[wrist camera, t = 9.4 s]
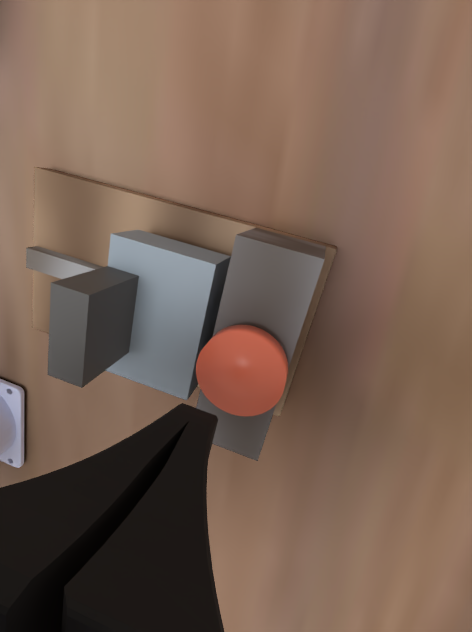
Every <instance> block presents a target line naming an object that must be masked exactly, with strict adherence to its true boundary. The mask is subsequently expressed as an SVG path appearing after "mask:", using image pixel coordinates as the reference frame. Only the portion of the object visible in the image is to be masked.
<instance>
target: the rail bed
mask: <svg viewBox="0 0 472 632" xmlns="http://www.w3.org/2000/svg"><path fill="white" fill-rule="evenodd" d="M132 230H142V231H145V232H149V233H152V234H156V235H159V236H162V237H166V238H169V239H173V240H176V241H180V242H183V243H187V244H190V245H193V246H197V247H200V248H204V249H207V250H211V251H214V252H218V253H221V254H225V255H228V256H231V259H230V263H229V267H228V272H227V276H226V281H225V285H224V289H223V294H222V298H221V302H220V307H219V311H218V315H217V320H216V324H215V328H214V333H213V336H214V335H215V334H216V333H217V332H218V331H220V330H222V329H224V328H226V327H229V326H232V325H251V326H254V327H257V328H260V329H262V330H264V331H266V332H267V333H269V334H270V335H272V336H273V337H274V338H275V339H276V340H277V341H278V342H279V344H280V345H281V347H282V348H283V350H284V352H285V354H286V357H287V361H288V375H287V379H286V384H285V388H284V392H283V394H282V396H281V398H280V400H279V401H278V402H277V404H276V405H275V406H274V407H272V408H271V409H270V410H268V411H267V412H264V413H262V414H259V415H255V416H237V415H233V414H230V413H227V412H225V411H223V410H221V409H219V408H218V407H216V406H215V405H214V404H213V403H211V402H210V401H209V400H208V399H207V397H206V396H205V395H204V393H203V392H202V390H201V389H200V394H199V398H198V403H197V407H196V408H197V409H200V410H202V411H205V412H208V413H211V414H213V415H216V416H217V418H218V423H217V427H216V430H215V434H214V438H213V442H212V444H214V445H217V446H220V447H222V448H225V449H227V450H230V451H233V452H235V453H238V454H240V455H243V456H246V457H248V458H251V459H254V460H256V461H258V458H259V455H260V452H261V449H262V446H263V443H264V440H265V437H266V434H267V431H268V428H269V425H270V422H271V419H272V416H273V415H276V416H279V417H280V414H281V411H282V408H283V406H284V403H285V400H286V397H287V394H288V391H289V388H290V385H291V382H292V379H293V376H294V373H295V371H296V368H297V365H298V362H299V359H300V356H301V353H302V350H303V347H304V344H305V341H306V338H307V336H308V333H309V330H310V327H311V324H312V321H313V318H314V315H315V312H316V309H317V306H318V303H319V301H320V298H321V295H322V292H323V289H324V286H325V283H326V280H327V277H328V274H329V271H330V269H331V266H332V263H333V260H334V257H335V254H336V251H337V246H333V245H329V244H326V243H322V242H318V241H314V240H311V239H307V238H303V237H300V236H296V235H292V234H289V233H285V232H281V231H278V230H274V229H270V228H267V227H263V226H259V225H255V224H252V223H248V222H244V221H241V220H237V219H233V218H230V217H226V216H222V215H219V214H215V213H211V212H208V211H204V210H200V209H196V208H193V207H189V206H185V205H182V204H178V203H174V202H171V201H167V200H163V199H160V198H156V197H152V196H149V195H145V194H141V193H137V192H134V191H130V190H126V189H123V188H119V187H115V186H112V185H108V184H104V183H101V182H97V181H93V180H90V179H86V178H82V177H78V176H75V175H71V174H67V173H64V172H60V171H56V170H53V169H47V168H39V167H34V214H33V247H28V248H27V255H26V268H29V269H32V270H33V294H32V328H34V329H37V330H40V331H42V332H45V333H48V334H49V321H50V291H51V282H54V281H58V280H61V279H65V278H68V277H72V276H75V275H78V274H82V273H85V272H89V271H92V270H96V269H99V268H103V267H106V266H108V258H109V247H110V237H111V234H112V233H118V232H125V231H132ZM197 387H198V388H200V386H199V384H198V386H197Z"/></svg>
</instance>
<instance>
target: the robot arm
mask: <svg viewBox="0 0 472 632" xmlns="http://www.w3.org/2000/svg"><path fill="white" fill-rule="evenodd" d="M217 423H218V418H217V416H216V415H213V414H211V413H208V412H205V411H202V410H200V409H197V408H194V407H191V406H189V405H186V404H183V403H182V404H180V405H178V406H177V407H175V408H174V409H172V410H171V411H169V412H168V413H167V414H165V415H164V416H162V417H161V418H159V419H158V420H156V421H155V422H153V423H151V424H150V425H148V426H147V427H145V428H143V429H142V430H140V431H138V432H137V433H135V434H133V435H132V436H130V437H128V438H126V439H124V440H123V441H121V442H119V443H117V444H115V445H113V446H111V447H110V448H108V449H106V450H104V451H101V452H99V453H97V454H95V455H93V456H91V457H89V458H86V459H84V460H82V461H79V462H77V463H75V464H72V465H69V466H67V467H64V468H62V469H59V470H56V471H53V472H51V473H48V474H45V475H42V476H39V477H36V478H33V479H30V480H27V481H23V482H20V483H16V484H13V485H9V486H6V487H2V488H0V632H224V628H223V624H222V619H221V614H220V610H219V604H218V599H217V594H216V588H215V582H214V576H213V570H212V562H211V553H210V545H209V537H208V523H207V502H206V487H207V465H208V458H209V454H210V450H211V446H212V442H213V438H214V434H215V430H216V427H217ZM0 461H2V462H5V463H7V464H9V465H12V466H14V467H16V468H20V467H21V466H22V465H23V464H24V390H23V389H22V388H21V387H20V386H17V385H15V384H12V383H10V382H7V381H5V380H2V379H0Z"/></svg>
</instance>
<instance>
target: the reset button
mask: <svg viewBox="0 0 472 632" xmlns="http://www.w3.org/2000/svg"><path fill="white" fill-rule="evenodd" d="M287 375H288V361H287V357H286V354H285V352H284V350H283V348H282V347H281V345H280V344H279V342H278V341H277V340H276V339H275V338H274V337H273V336H272V335H270V334H269V333H267V332H266V331H264V330H262V329H260V328H257V327H254V326H251V325H232V326H229V327H226V328H224V329H222V330H220V331H218V332H217V333H216V334H215V335H214V336H213V337H212V338H211V339H210V340H209V342H208V343H207V344H206V345H205V346H204V347H203V349H202V350H201V352H200V354H199V356H198V359H197V363H196V376H197V381H198V384H199V386H200V388H201V390H202V392H203V393H204V395H205V396H206V397H207V399H208V400H209V401H210V402H211V403H213V404H214V405H215V406H216V407H218V408H219V409H221V410H223V411H225V412H227V413H230V414H233V415H237V416H255V415H259V414H262V413H264V412H267V411H268V410H270V409H271V408H272V407H274V406H275V405H276V404H277V402H278V401H279V400H280V398H281V396H282V394H283V392H284V388H285V384H286V379H287Z"/></svg>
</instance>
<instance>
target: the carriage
mask: <svg viewBox="0 0 472 632" xmlns="http://www.w3.org/2000/svg"><path fill="white" fill-rule="evenodd" d="M230 259H231V256H228V255H225V254H221V253H218V252H214V251H211V250H207V249H204V248H200V247H197V246H193V245H190V244H187V243H183V242H180V241H176V240H173V239H169V238H166V237H162V236H159V235H156V234H152V233H149V232H145V231H142V230H132V231H125V232H118V233H112V234H111V237H110V247H109V258H108V266H106V267H103V268H99V269H96V270H92V271H89V272H85V273H82V274H78V275H75V276H72V277H68V278H65V279H61V280H58V281H54V282H51V291H50V321H49V351H48V375H50V376H52V377H55V378H58V379H60V380H63V381H66V382H68V383H71V384H73V385H76V386H79V387H81V388H82V387H84V386H85V385H86V384H88V383H89V382H90V381H92V380H93V379H94V378H96V377H97V376H98V375H100V374H101V373H102V372H104V371H108V372H111V373H114V374H116V375H119V376H122V377H125V378H127V379H130V380H133V381H135V382H138V383H141V384H144V385H146V386H149V387H152V388H154V389H157V390H160V391H163V392H165V393H168V394H171V395H173V396H176V397H179V398H182V399H184V400H187V399H188V398H189V397H190V395H191V394H192V393H193V391H194V390H195V388H196V387H197V386H198V381H197V376H196V363H197V359H198V356H199V354H200V352H201V350H202V349H203V347H204V346H205V345H206V344H207V343H208V342H209V340H210V339H211V338H212V337H213V333H214V328H215V324H216V320H217V315H218V311H219V307H220V302H221V298H222V294H223V289H224V285H225V281H226V276H227V272H228V267H229V263H230Z"/></svg>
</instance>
